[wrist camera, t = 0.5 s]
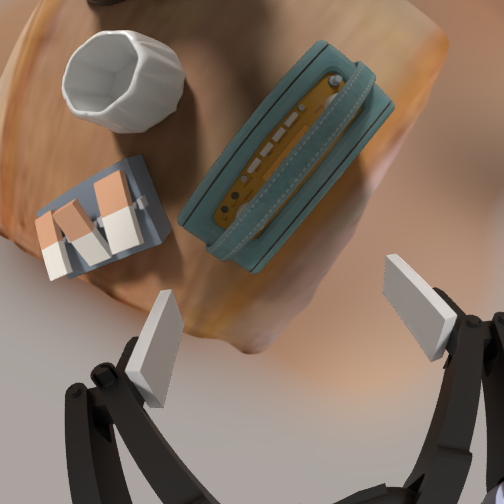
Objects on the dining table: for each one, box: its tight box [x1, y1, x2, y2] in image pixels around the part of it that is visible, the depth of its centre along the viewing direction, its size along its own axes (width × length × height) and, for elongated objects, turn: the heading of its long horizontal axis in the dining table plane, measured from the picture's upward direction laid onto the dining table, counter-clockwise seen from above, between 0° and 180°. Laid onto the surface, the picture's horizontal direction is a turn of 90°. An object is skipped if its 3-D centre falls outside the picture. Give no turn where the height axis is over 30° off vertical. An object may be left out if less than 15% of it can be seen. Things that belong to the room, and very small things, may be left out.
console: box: [36, 154, 172, 279], centre depth 38 cm, size 13×21×8 cm, turn 108°
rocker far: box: [35, 210, 73, 281], centre depth 34 cm, size 10×5×2 cm, turn 19°
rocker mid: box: [52, 198, 112, 266], centre depth 34 cm, size 10×5×2 cm, turn 18°
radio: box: [177, 40, 395, 274], centre depth 29 cm, size 26×11×20 cm, turn 143°
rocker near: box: [94, 170, 144, 255], centre depth 33 cm, size 10×5×2 cm, turn 19°
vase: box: [62, 30, 186, 134], centre depth 26 cm, size 14×14×15 cm
